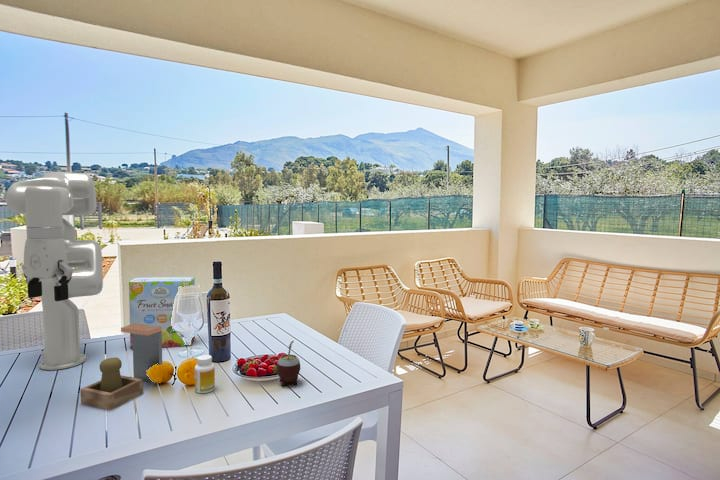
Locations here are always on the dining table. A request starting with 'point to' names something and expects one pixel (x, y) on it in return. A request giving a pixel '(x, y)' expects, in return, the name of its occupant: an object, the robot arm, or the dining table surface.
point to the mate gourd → (288, 368)
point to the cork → (110, 374)
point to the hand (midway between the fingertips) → (48, 298)
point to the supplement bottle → (204, 374)
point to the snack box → (156, 305)
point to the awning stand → (145, 348)
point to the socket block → (114, 399)
